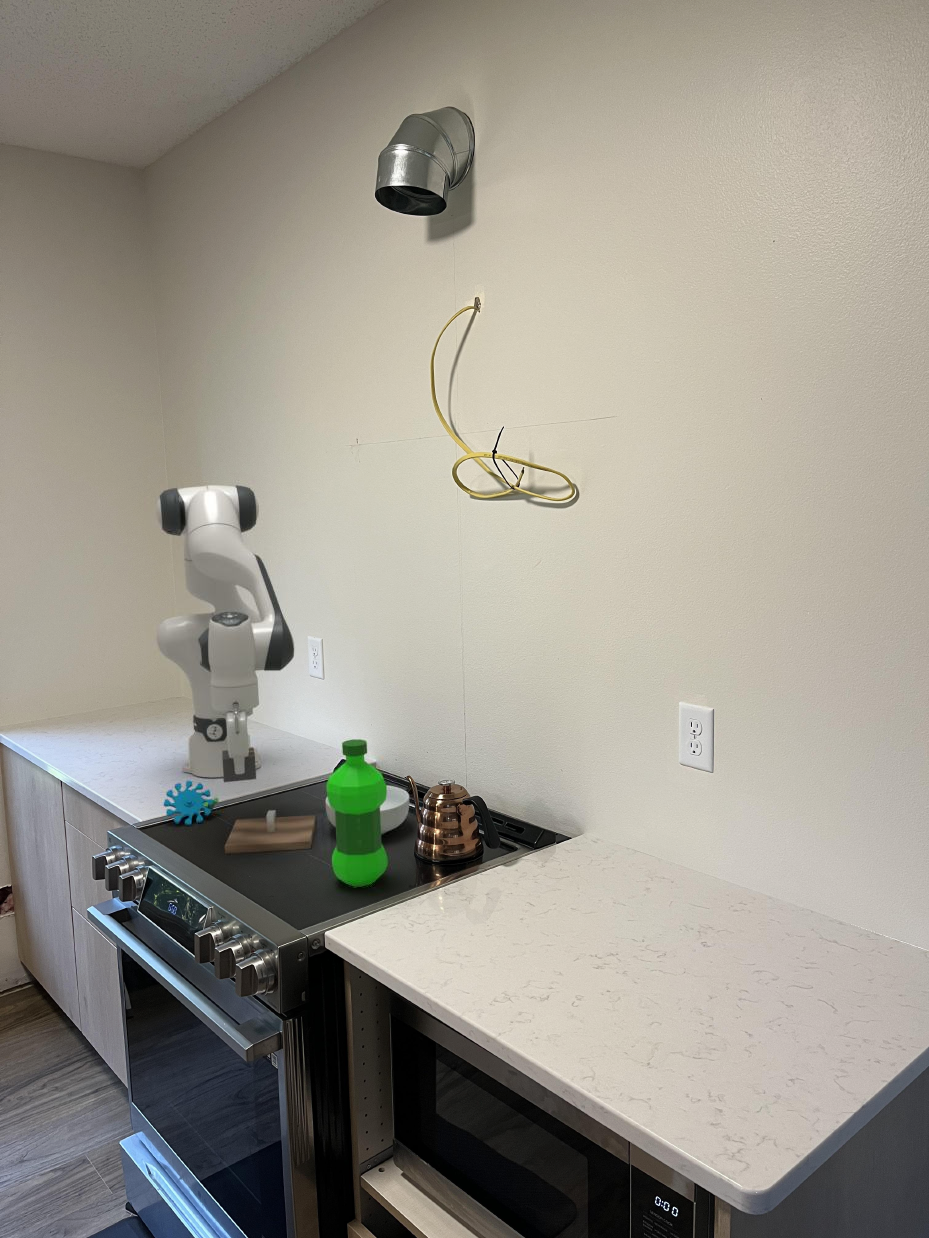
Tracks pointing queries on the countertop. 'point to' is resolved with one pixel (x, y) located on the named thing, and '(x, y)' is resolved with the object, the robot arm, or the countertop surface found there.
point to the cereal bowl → (385, 809)
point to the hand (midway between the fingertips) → (239, 767)
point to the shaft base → (271, 834)
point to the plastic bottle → (357, 817)
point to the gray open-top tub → (230, 768)
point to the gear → (189, 803)
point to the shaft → (271, 821)
